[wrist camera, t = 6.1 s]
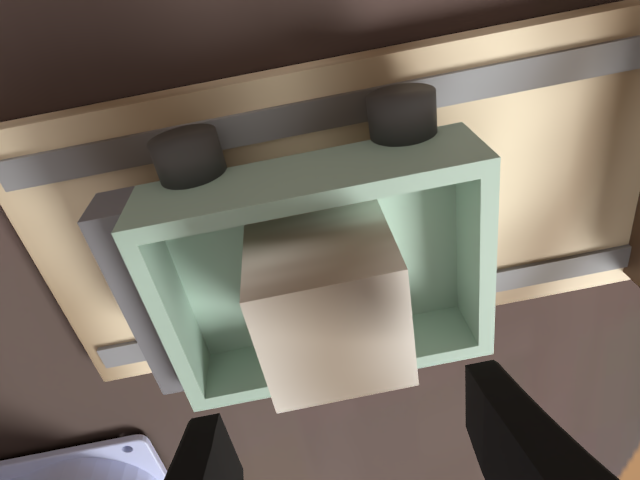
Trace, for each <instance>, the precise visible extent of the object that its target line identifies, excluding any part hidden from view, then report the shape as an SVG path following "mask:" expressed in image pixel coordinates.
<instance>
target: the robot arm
mask: <svg viewBox="0 0 640 480" xmlns="http://www.w3.org/2000/svg"><path fill="white" fill-rule="evenodd" d="M465 381H466V428H467V431H468V434H469V437H470V440H471V443H472V445H473V448H474V451H475V454H476V457H477V460H478V462H479V465H480V468H481V471H482V474H483V476H484V478H485V480H619V479H618V478H617V477H616V476H615V475H614V474H612V473H611V472H610V471H609V470H608V469H607V468H605V467H604V466H603V465H602V464H601V463H600V462H598V461H597V460H596V459H595V458H594V457H593V456H592V455H591V454H589V453H588V452H587V451H586V450H585V449H584V448H583V447H582V446H581V445H580V444H579V443H577V442H576V441H575V440H574V439H573V438H572V437H571V436H570V435H569V434H568V433H567V432H566V431H565V430H564V429H562V428H561V427H560V426H559V425H558V424H557V423H556V422H555V421H554V420H553V419H552V418H551V417H550V416H549V415H548V414H547V413H546V412H545V411H544V410H543V409H542V408H541V407H540V406H539V405H538V404H537V403H536V402H535V401H534V400H533V399H532V398H531V397H530V396H529V395H528V394H527V393H526V392H525V391H524V390H523V389H522V388H521V387H520V386H519V385H518V384H517V383H516V382H515V381H514V379H513V378H512V377H511V376H510V375H509V374H508V373H507V372H506V371H505V370H504V369H503V368H502V366H501V365H500V364H499V363H498V362H496V361H494V360H490V361H485V362H480V363H475V364H470V365H465ZM0 480H244V479H243V468H242V465H241V463H240V461H239V458H238V456H237V454H236V451H235V449H234V446H233V444H232V442H231V439H230V437H229V435H228V432H227V430H226V428H225V425H224V423H223V420H222V418H221V416H220V413H218V414H213V415H208V416H203V417H197V418H192V419H191V420H190V421H189V423H188V424H187V427H186V429H185V432H184V434H183V437H182V439H181V441H180V444H179V446H178V449H177V451H176V453H175V456H174V458H173V460H172V462H171V465H170V467H169V469H168V471H167V470H166V468H165V467H164V465H163V463H162V461H161V459H160V458H159V456H158V454H157V452H156V451H155V449H154V447H153V445H152V444H151V442H150V440H149V439H148V438H147V437H146V436H145V435H141V434H136V435H130V436H125V437H120V438H115V439H110V440H105V441H100V442H94V443H89V444H84V445H79V446H74V447H69V448H64V449H58V450H53V451H48V452H43V453H38V454H33V455H28V456H23V457H17V458H12V459H7V460H2V461H0Z"/></svg>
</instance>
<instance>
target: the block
mask: <svg viewBox="0 0 640 480" xmlns="http://www.w3.org/2000/svg"><path fill="white" fill-rule="evenodd" d="M239 304H240V307H241V310H242V313H243V316H244V319H245V322H246V325H247V327H248V330H249V333H250V336H251V339H252V342H253V345H254V348H255V351H256V354H257V357H258V360H259V363H260V366H261V369H262V372H263V374H264V377H265V380H266V383H267V386H268V389H269V392H270V395H271V398H272V401H273V404H274V407H275V410H276V413H282V412H287V411H292V410H297V409H302V408H307V407H312V406H317V405H322V404H327V403H332V402H337V401H342V400H347V399H352V398H357V397H362V396H367V395H372V394H377V393H382V392H387V391H392V390H397V389H402V388H407V387H412V386H417V385H419V381H418V370H417V360H416V349H415V339H414V328H413V318H412V307H411V297H410V286H409V276H408V269H407V266H406V264H405V262H404V259H403V257H402V255H401V253H400V250H399V248H398V246H397V244H396V241H395V239H394V237H393V234H392V232H391V230H390V228H389V225H388V223H387V221H386V219H385V216H384V214H383V212H382V210H381V207H380V205H379V203H378V200H377V199H375V200H370V201H365V202H360V203H355V204H350V205H344V206H339V207H334V208H329V209H324V210H319V211H314V212H309V213H303V214H298V215H293V216H288V217H283V218H278V219H273V220H268V221H262V222H257V223H252V224H247V225H244V235H243V251H242V268H241V285H240V301H239Z"/></svg>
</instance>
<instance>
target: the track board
mask: <svg viewBox="0 0 640 480" xmlns="http://www.w3.org/2000/svg"><path fill="white" fill-rule="evenodd" d="M401 83H425V84H429V85H432V86H434V87H435V88H436V102H437V127H438V126H443V125H448V124H453V123H459V122H463V123H464V124H465V125H466V126H467V127H468V128H469V129H471V130H472V131H473V132H474V133H475V134H476V135H477V136H478V137H479V138H480V139H481V140H483V141H484V142H485V143H486V144H487V145H488V146H489V147H490V148H491V149H492V150H493V151H494V152H496V153H497V154H498V155H499V156H500V157H501V163H500V191H499V218H498V246H497V273H496V300H495V306H497V305H502V304H507V303H512V302H517V301H522V300H527V299H532V298H538V297H543V296H548V295H553V294H558V293H563V292H568V291H574V290H579V289H584V288H589V287H594V286H599V285H604V284H609V283H615V282H620V281H625V280H630V279H631V280H632V281H633V282H634V283H635V284H637V285H638V286H639V287H640V0H623V1H618V2H613V3H608V4H603V5H598V6H593V7H588V8H582V9H577V10H572V11H567V12H562V13H557V14H552V15H547V16H542V17H536V18H531V19H526V20H521V21H516V22H511V23H506V24H501V25H495V26H490V27H485V28H480V29H475V30H470V31H465V32H460V33H455V34H449V35H444V36H439V37H434V38H429V39H424V40H419V41H414V42H409V43H403V44H398V45H393V46H388V47H383V48H378V49H373V50H368V51H362V52H357V53H352V54H347V55H342V56H337V57H332V58H327V59H322V60H316V61H311V62H306V63H301V64H296V65H291V66H286V67H281V68H276V69H270V70H265V71H260V72H255V73H250V74H245V75H240V76H235V77H229V78H224V79H219V80H214V81H209V82H204V83H199V84H194V85H189V86H183V87H178V88H173V89H168V90H163V91H158V92H153V93H148V94H143V95H137V96H132V97H127V98H122V99H117V100H112V101H107V102H102V103H96V104H91V105H86V106H81V107H76V108H71V109H66V110H61V111H56V112H50V113H45V114H40V115H35V116H30V117H25V118H20V119H15V120H10V121H4V122H0V205H1V206H2V208H3V210H4V211H5V213H6V215H7V217H8V218H9V220H10V222H11V223H12V225H13V227H14V229H15V230H16V232H17V234H18V235H19V237H20V239H21V240H22V242H23V244H24V246H25V247H26V249H27V251H28V252H29V254H30V256H31V258H32V259H33V261H34V263H35V264H36V266H37V268H38V269H39V271H40V273H41V275H42V276H43V278H44V280H45V281H46V283H47V285H48V287H49V288H50V290H51V292H52V293H53V295H54V297H55V298H56V300H57V302H58V304H59V305H60V307H61V309H62V310H63V312H64V314H65V316H66V317H67V319H68V321H69V322H70V324H71V326H72V327H73V329H74V331H75V333H76V334H77V336H78V338H79V339H80V341H81V343H82V345H83V346H84V348H85V350H86V351H87V353H88V355H89V356H90V358H91V360H92V362H93V363H94V365H95V367H96V368H97V370H98V372H99V374H100V375H101V377H102V379H103V380H104V382H106V381H112V380H117V379H122V378H127V377H132V376H137V375H142V374H148V373H152V371H151V369H150V367H149V365H148V363H147V361H146V359H145V357H144V355H143V353H142V351H141V349H140V347H139V345H138V343H137V341H136V339H135V337H134V335H133V333H132V331H131V329H130V327H129V325H128V323H127V321H126V319H125V317H124V315H123V313H122V311H121V309H120V307H119V305H118V304H117V302H116V300H115V298H114V296H113V294H112V292H111V290H110V288H109V286H108V284H107V282H106V280H105V278H104V276H103V274H102V272H101V270H100V268H99V266H98V264H97V262H96V260H95V258H94V256H93V254H92V252H91V250H90V248H89V246H88V244H87V242H86V240H85V238H84V236H83V234H82V232H81V230H80V228H79V226H78V224H77V222H78V221H79V219H80V217H81V216H82V214H83V213H84V211H85V210H86V208H87V207H88V205H89V203H90V202H91V200H92V199H93V197H94V196H95V194H96V193H100V192H105V191H110V190H115V189H121V188H126V187H131V186H136V185H141V184H146V183H151V182H156V181H160V180H159V177H158V175H157V172H156V169H155V167H154V164H153V161H152V159H151V156H150V153H149V151H148V148H147V143H148V142H149V141H150V140H151V139H152V138H153V137H155V136H157V135H158V134H160V133H163V132H165V131H167V130H170V129H173V128H176V127H180V126H185V125H190V124H200V123H204V124H211V125H213V126H215V128H216V131H217V134H218V138H219V141H220V145H221V148H222V151H223V155H224V158H225V162H226V165H227V168H228V167H233V166H238V165H244V164H249V163H254V162H259V161H264V160H269V159H274V158H279V157H284V156H290V155H295V154H300V153H305V152H310V151H315V150H320V149H325V148H331V147H336V146H341V145H346V144H351V143H356V142H361V141H366V140H371V139H370V133H369V125H368V116H367V107H366V96H367V95H368V94H369V93H370V92H372V91H374V90H376V89H379V88H382V87H385V86H389V85H394V84H401Z"/></svg>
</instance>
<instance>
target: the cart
mask: <svg viewBox="0 0 640 480" xmlns="http://www.w3.org/2000/svg"><path fill="white" fill-rule="evenodd" d="M366 107H367V116H368V125H369V133H370V139H371V140H366V141H361V142H356V143H351V144H346V145H341V146H336V147H331V148H325V149H320V150H315V151H310V152H305V153H300V154H295V155H290V156H284V157H279V158H274V159H269V160H264V161H259V162H254V163H249V164H244V165H238V166H233V167H228V168H227V165H226V162H225V158H224V155H223V151H222V148H221V145H220V141H219V138H218V134H217V131H216V128H215V126H213V125H211V124H204V123H200V124H190V125H185V126H180V127H176V128H173V129H170V130H167V131H165V132H163V133H160V134H158V135H157V136H155V137H153V138H152V139H151V140H150V141H149V142H148V143H147V148H148V151H149V153H150V156H151V159H152V161H153V164H154V167H155V169H156V172H157V175H158V177H159V180H160V181H156V182H151V183H146V184H141V185H136V186H131V187H126V188H121V189H115V190H110V191H105V192H100V193H96V194H95V196H94V197H93V199H92V200H91V202H90V203H89V205H88V207H87V208H86V210H85V211H84V213H83V214H82V216H81V217H80V219H79V221H78V222H77V224H78V226H79V228H80V230H81V232H82V234H83V236H84V238H85V240H86V242H87V244H88V246H89V248H90V250H91V252H92V254H93V256H94V258H95V260H96V262H97V264H98V266H99V268H100V270H101V272H102V274H103V276H104V278H105V280H106V282H107V284H108V286H109V288H110V290H111V292H112V294H113V296H114V298H115V300H116V302H117V304H118V305H119V307H120V309H121V311H122V313H123V315H124V317H125V319H126V321H127V323H128V325H129V327H130V329H131V331H132V333H133V335H134V337H135V339H136V341H137V343H138V345H139V347H140V349H141V351H142V353H143V355H144V357H145V359H146V361H147V363H148V365H149V367H150V369H151V371H152V373H153V375H154V377H155V379H156V381H157V383H158V385H159V387H160V389H161V391H162V393H163V395H166V394H171V393H176V392H182V391H185V393H186V396H187V398H188V400H189V402H190V404H191V406H192V408H193V411H194V412H197V411H203V410H208V409H213V408H218V407H223V406H228V405H233V404H239V403H244V402H249V401H254V400H259V399H264V398H269V397H271V395H270V392H269V389H268V386H267V383H266V380H265V377H264V374H263V372H262V369H261V366H260V363H259V360H258V357H257V354H256V351H255V348H254V345H253V342H252V339H251V336H250V333H249V330H248V327H247V325H246V322H245V319H244V316H243V313H242V310H241V307H240V304H239V301H240V285H241V268H242V251H243V235H244V225H247V224H252V223H257V222H262V221H268V220H273V219H278V218H283V217H288V216H293V215H298V214H303V213H309V212H314V211H319V210H324V209H329V208H334V207H339V206H344V205H350V204H355V203H360V202H365V201H370V200H375V199H377V200H378V203H379V205H380V207H381V210H382V212H383V214H384V216H385V219H386V221H387V223H388V225H389V228H390V230H391V232H392V234H393V237H394V239H395V241H396V244H397V246H398V248H399V250H400V253H401V255H402V257H403V259H404V262H405V264H406V266H407V269H408V276H409V286H410V297H411V307H412V318H413V328H414V339H415V349H416V360H417V369H418V368H423V367H429V366H434V365H439V364H444V363H449V362H454V361H459V360H465V359H470V358H475V357H480V356H485V355H490V354H494V328H495V300H496V273H497V246H498V218H499V191H500V163H501V157H500V156H499V155H498V154H497V153H496V152H494V151H493V150H492V149H491V148H490V147H489V146H488V145H487V144H486V143H485V142H484V141H483V140H481V139H480V138H479V137H478V136H477V135H476V134H475V133H474V132H473V131H472V130H471V129H469V128H468V127H467V126H466V125H465V124H464V123H463V122H459V123H453V124H448V125H443V126H438V127H437V102H436V88H435V87H434V86H432V85H429V84H425V83H401V84H394V85H389V86H385V87H382V88H379V89H376V90H374V91H372V92H370V93H369V94H368V95H367V96H366Z"/></svg>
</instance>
